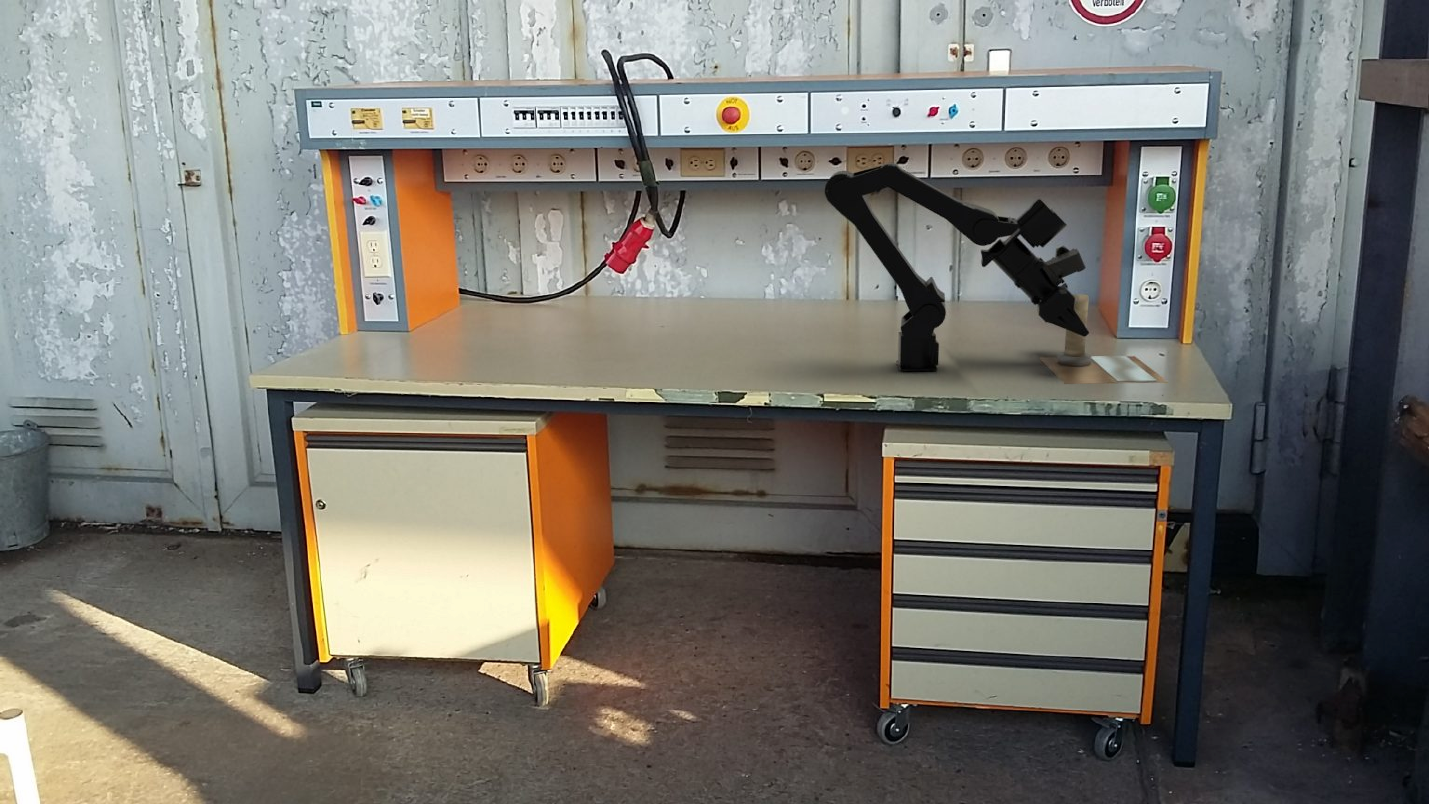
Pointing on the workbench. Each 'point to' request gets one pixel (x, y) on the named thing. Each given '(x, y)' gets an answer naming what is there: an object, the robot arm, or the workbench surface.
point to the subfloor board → (1105, 371)
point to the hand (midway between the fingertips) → (1084, 329)
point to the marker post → (1076, 338)
